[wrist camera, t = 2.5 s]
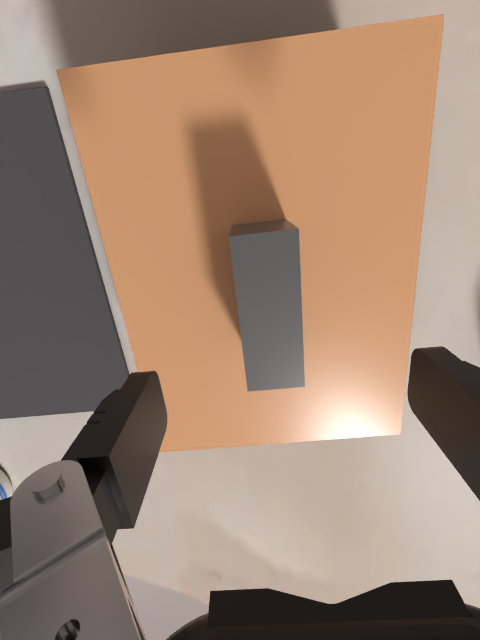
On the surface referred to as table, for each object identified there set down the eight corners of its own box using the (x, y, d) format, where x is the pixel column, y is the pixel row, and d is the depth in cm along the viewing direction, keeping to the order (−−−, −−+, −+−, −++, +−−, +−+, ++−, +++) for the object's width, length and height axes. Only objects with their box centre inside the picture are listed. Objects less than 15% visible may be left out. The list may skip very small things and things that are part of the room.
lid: (165, 433, 26) (142, 507, 20) (76, 82, 17) (-15, 25, 11) (389, 416, 25) (434, 487, 19) (421, 34, 16) (526, -58, 10)
